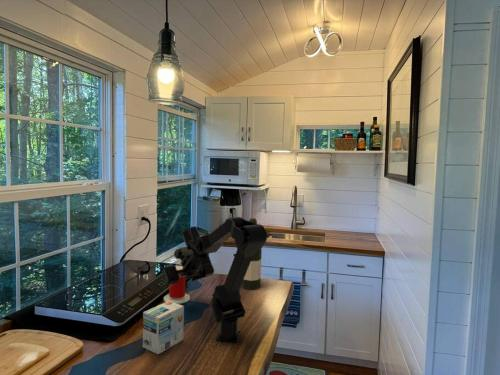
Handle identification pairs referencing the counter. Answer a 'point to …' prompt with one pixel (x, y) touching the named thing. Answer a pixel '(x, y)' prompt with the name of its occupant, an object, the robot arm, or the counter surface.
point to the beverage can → (178, 287)
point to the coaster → (177, 301)
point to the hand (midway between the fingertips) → (181, 282)
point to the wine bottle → (253, 270)
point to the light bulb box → (163, 326)
